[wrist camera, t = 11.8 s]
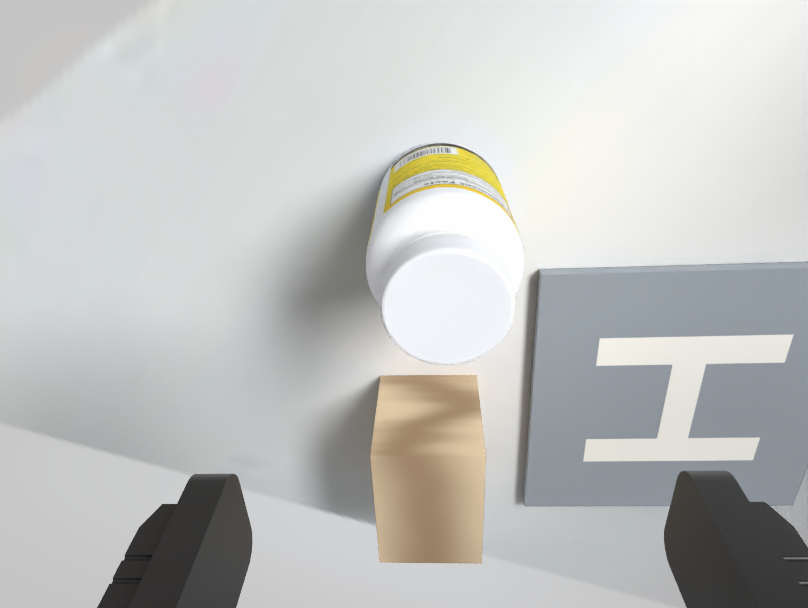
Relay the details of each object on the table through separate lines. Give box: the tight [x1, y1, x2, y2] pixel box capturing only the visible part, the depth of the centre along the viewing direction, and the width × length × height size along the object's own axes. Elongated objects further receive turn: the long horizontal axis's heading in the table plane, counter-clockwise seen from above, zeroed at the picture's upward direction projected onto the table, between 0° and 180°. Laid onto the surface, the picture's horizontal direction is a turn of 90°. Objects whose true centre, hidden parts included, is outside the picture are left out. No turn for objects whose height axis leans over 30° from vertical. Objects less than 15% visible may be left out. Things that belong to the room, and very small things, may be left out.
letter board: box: [523, 262, 808, 506], centre depth 30 cm, size 15×15×1 cm
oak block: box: [370, 375, 486, 563], centre depth 30 cm, size 5×7×6 cm
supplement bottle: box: [366, 142, 524, 365], centre depth 21 cm, size 5×5×10 cm
